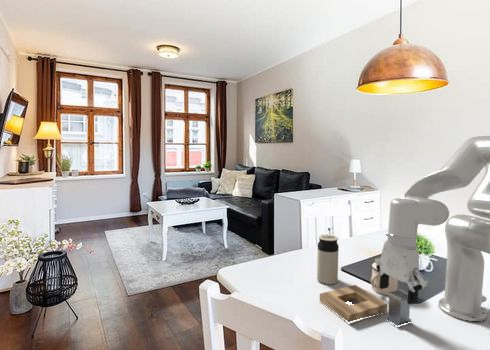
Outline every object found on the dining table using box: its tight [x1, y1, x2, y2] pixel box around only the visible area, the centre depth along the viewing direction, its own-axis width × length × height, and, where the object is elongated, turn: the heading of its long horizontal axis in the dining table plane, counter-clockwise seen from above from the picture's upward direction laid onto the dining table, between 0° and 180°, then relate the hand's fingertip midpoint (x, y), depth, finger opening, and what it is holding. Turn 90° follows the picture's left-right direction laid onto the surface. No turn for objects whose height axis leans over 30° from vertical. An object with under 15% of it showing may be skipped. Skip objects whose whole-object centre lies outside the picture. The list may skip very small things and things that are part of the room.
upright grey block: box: [385, 289, 412, 326], centre depth 88 cm, size 6×4×9 cm, turn 113°
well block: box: [319, 284, 388, 322], centre depth 96 cm, size 16×14×3 cm
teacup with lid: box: [370, 262, 399, 296], centre depth 106 cm, size 12×9×12 cm
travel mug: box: [316, 233, 339, 285], centre depth 115 cm, size 8×8×18 cm
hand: (397, 295), depth 87 cm, fingers open, 9 cm apart
